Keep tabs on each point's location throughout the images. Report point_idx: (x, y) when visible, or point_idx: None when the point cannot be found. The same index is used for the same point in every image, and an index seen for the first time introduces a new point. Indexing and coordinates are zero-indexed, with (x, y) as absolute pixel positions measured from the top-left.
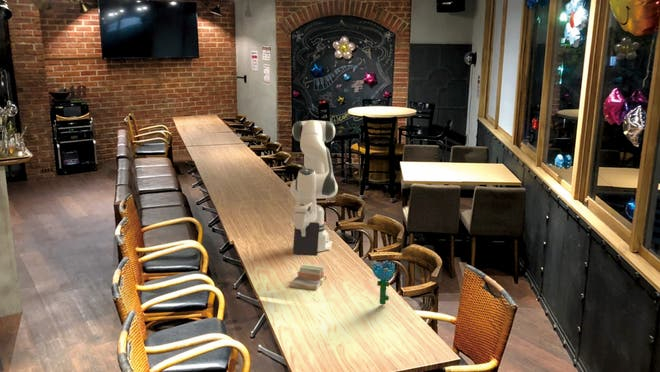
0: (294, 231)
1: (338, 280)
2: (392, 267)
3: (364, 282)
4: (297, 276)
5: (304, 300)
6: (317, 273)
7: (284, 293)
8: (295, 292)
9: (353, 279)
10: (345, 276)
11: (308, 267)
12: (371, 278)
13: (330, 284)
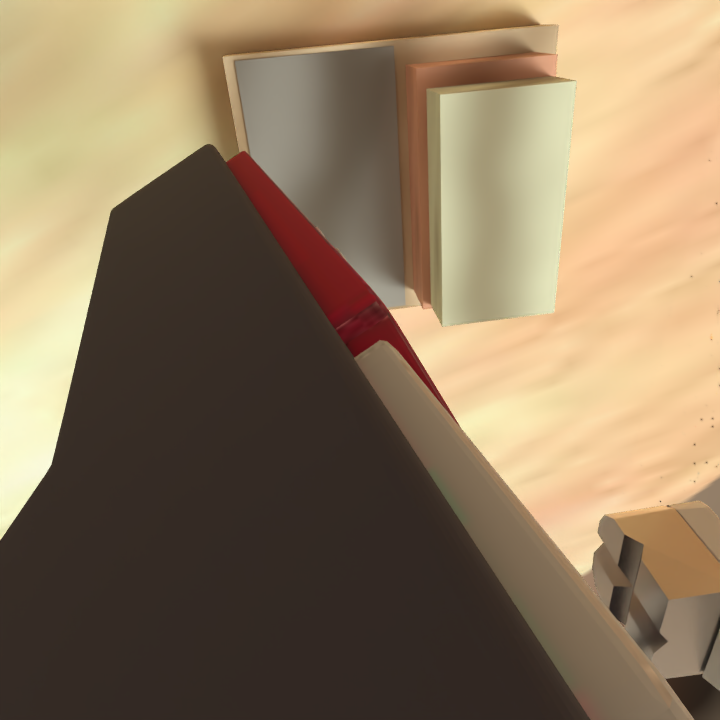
0: (216, 350)
1: (538, 357)
2: None
3: (547, 497)
4: (434, 42)
5: (28, 325)
6: (432, 287)
7: (44, 93)
8: (132, 179)
9: (585, 428)
10: (635, 364)
11: (471, 191)
12: (629, 502)
13: (437, 343)
